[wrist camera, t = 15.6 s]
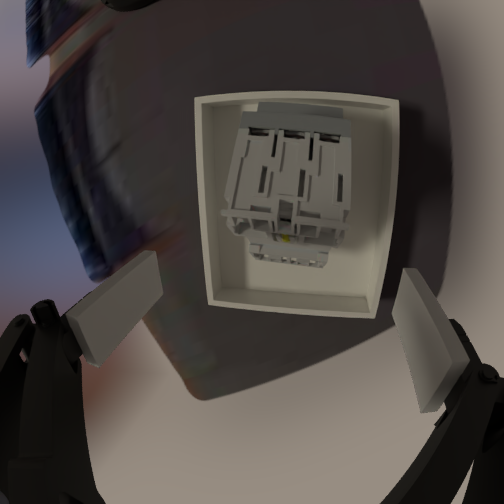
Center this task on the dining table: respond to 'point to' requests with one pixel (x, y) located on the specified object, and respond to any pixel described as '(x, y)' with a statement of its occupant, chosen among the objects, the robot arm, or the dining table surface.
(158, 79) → the dining table surface
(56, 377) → the robot arm
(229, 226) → the circuit breaker
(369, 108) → the parts tray
